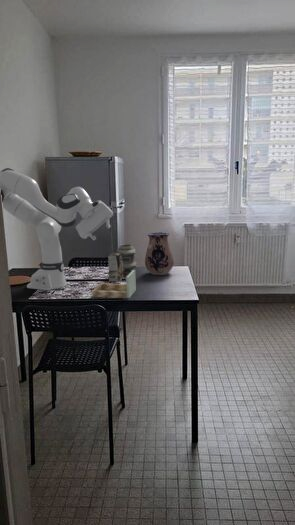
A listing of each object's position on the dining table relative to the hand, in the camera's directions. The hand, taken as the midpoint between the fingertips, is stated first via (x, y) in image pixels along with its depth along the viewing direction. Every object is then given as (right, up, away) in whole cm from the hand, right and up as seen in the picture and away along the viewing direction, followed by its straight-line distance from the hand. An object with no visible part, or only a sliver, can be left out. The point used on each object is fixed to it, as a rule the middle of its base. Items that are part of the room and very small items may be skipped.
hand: (101, 233), depth 197 cm
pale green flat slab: (+14, -31, +13) cm, 36 cm away
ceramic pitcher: (+30, -21, +56) cm, 66 cm away
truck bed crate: (+4, -31, +15) cm, 35 cm away
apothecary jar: (+10, -21, +57) cm, 62 cm away
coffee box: (+4, -25, +41) cm, 49 cm away
